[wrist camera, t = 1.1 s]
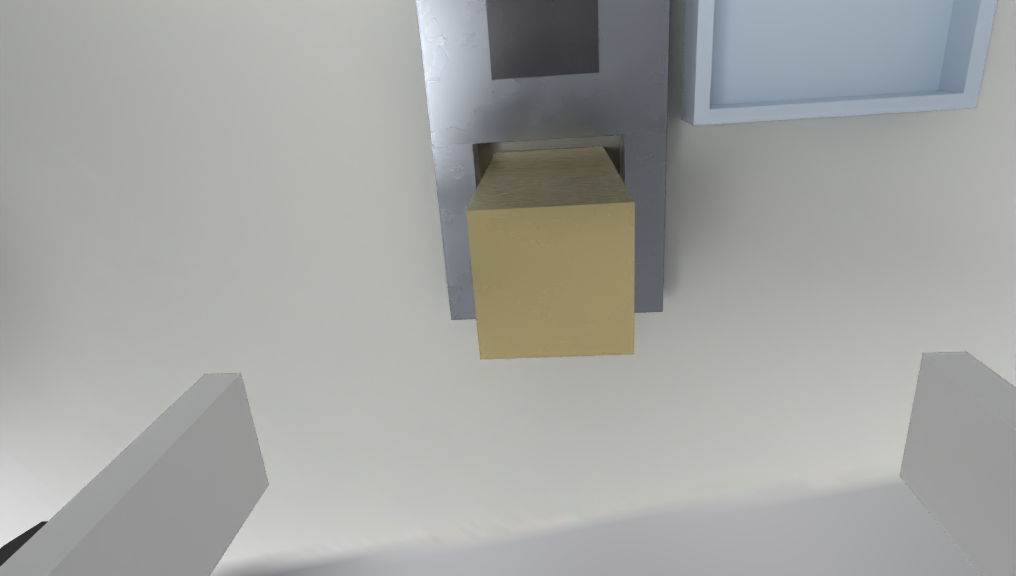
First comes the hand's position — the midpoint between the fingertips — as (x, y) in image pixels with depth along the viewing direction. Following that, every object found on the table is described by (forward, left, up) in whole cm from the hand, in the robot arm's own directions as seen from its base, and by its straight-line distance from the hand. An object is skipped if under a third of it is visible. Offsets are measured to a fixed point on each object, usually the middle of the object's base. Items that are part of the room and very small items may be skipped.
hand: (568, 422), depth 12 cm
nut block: (0, 0, -19) cm, 19 cm away
